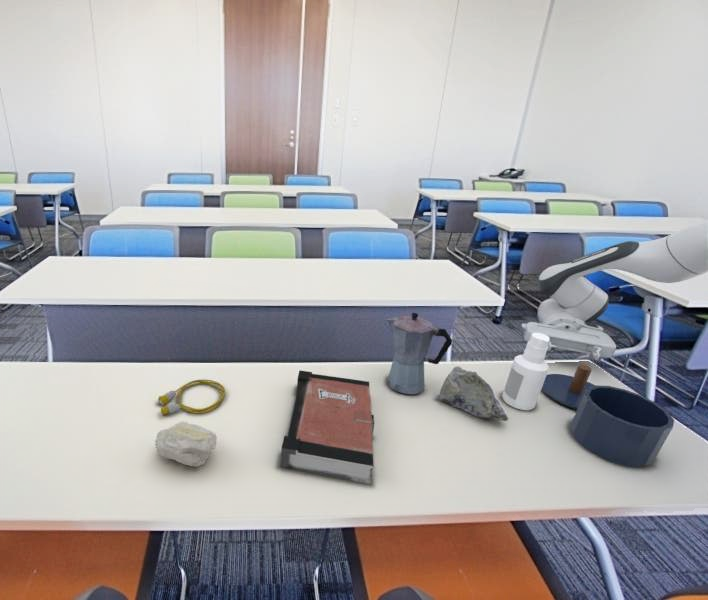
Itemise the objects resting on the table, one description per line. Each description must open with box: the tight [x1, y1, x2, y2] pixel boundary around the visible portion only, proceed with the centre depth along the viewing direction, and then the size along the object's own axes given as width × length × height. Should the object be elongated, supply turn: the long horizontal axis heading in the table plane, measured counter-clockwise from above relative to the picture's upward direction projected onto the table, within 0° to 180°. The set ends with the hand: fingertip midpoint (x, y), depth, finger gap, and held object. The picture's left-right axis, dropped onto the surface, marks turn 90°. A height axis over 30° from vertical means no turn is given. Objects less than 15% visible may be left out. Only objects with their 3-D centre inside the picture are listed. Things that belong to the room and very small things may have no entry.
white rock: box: [154, 421, 217, 467], centre depth 77 cm, size 12×8×10 cm
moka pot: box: [386, 312, 453, 395], centre depth 97 cm, size 10×15×20 cm, turn 55°
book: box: [280, 369, 375, 485], centre depth 85 cm, size 26×18×5 cm
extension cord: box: [157, 379, 226, 416], centre depth 95 cm, size 12×16×2 cm
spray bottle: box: [501, 333, 550, 411], centre depth 92 cm, size 7×7×18 cm
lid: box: [541, 363, 596, 410], centre depth 97 cm, size 15×15×8 cm
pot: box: [569, 384, 675, 468], centre depth 82 cm, size 14×14×10 cm
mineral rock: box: [438, 365, 509, 422], centre depth 90 cm, size 13×11×10 cm
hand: (573, 353), depth 103 cm, fingers open, 8 cm apart
